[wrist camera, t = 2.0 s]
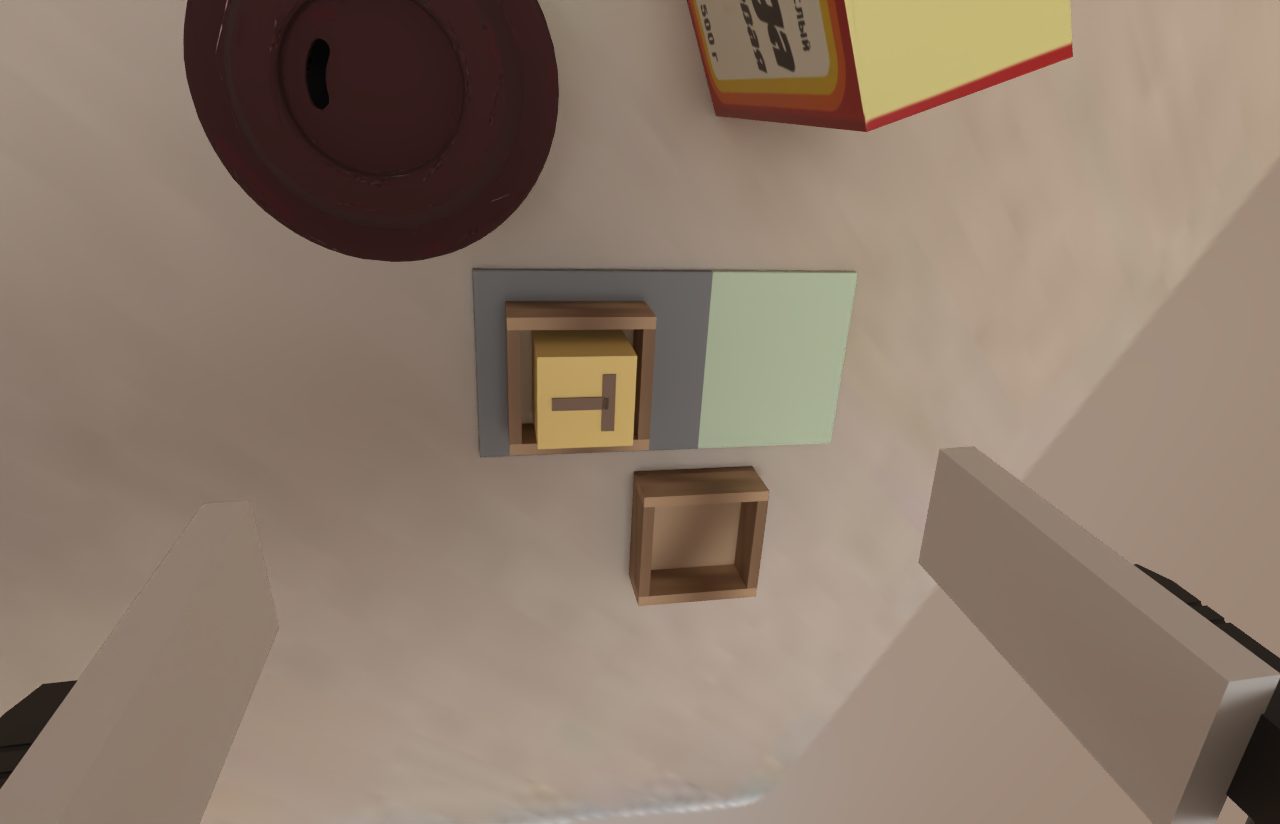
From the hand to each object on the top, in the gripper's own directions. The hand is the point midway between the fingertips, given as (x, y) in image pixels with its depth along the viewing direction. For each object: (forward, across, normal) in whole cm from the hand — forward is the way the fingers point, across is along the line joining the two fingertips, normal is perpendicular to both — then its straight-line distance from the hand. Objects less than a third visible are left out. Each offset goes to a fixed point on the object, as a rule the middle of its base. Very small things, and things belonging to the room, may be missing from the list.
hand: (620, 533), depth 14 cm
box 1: (+24, +1, -5) cm, 25 cm away
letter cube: (+24, +1, -5) cm, 25 cm away
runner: (+25, +6, -6) cm, 26 cm away
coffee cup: (+25, -5, +8) cm, 27 cm away
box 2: (+25, +8, -16) cm, 30 cm away
